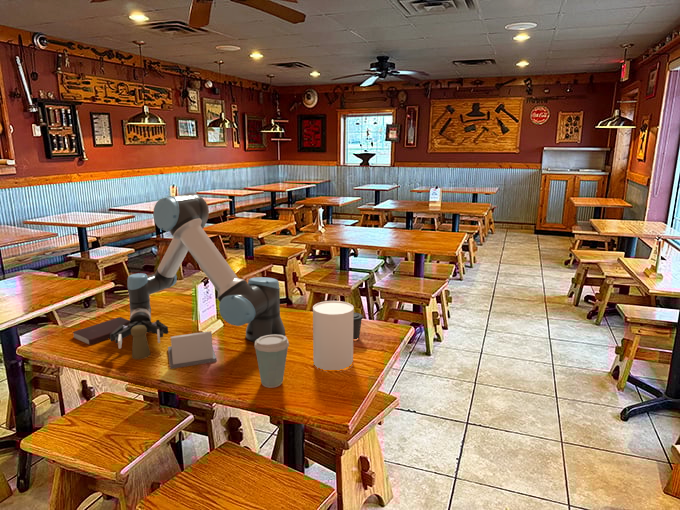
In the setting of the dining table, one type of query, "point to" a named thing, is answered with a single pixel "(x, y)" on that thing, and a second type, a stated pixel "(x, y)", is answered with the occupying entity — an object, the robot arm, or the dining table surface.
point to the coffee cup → (356, 325)
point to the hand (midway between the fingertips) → (139, 342)
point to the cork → (140, 342)
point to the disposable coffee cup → (271, 359)
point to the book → (99, 331)
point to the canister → (333, 335)
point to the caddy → (191, 350)
